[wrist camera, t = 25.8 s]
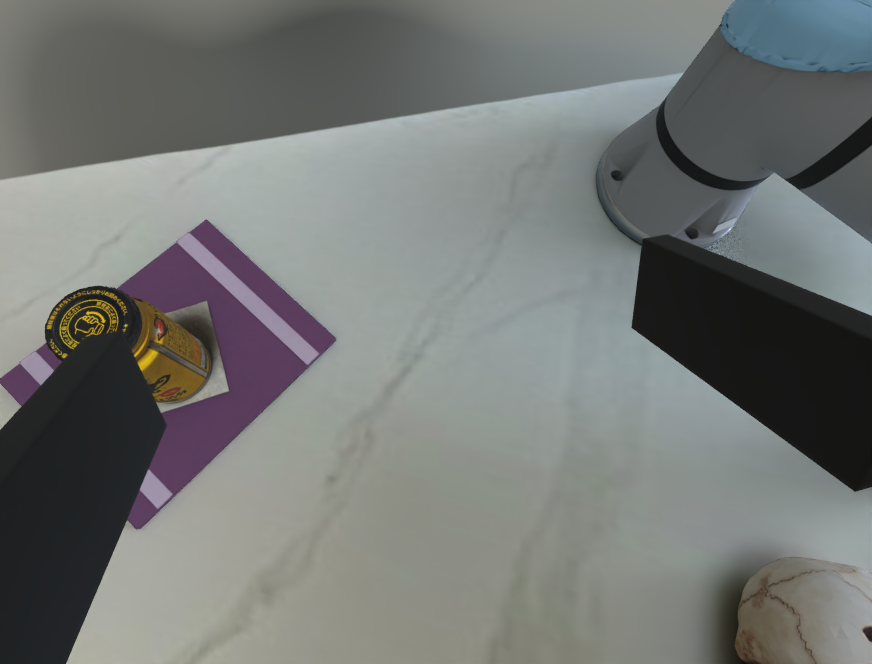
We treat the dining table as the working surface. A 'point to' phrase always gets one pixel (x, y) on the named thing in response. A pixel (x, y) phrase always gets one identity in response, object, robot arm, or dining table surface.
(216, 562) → the dining table surface
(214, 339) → the condiment
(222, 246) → the towel
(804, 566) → the coin bank
